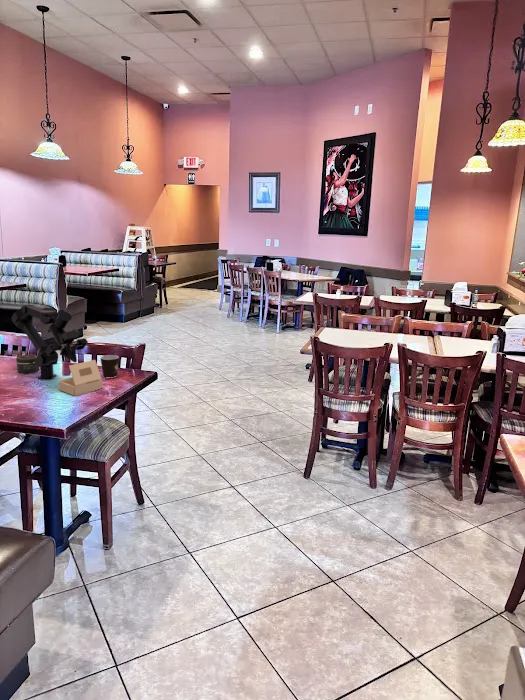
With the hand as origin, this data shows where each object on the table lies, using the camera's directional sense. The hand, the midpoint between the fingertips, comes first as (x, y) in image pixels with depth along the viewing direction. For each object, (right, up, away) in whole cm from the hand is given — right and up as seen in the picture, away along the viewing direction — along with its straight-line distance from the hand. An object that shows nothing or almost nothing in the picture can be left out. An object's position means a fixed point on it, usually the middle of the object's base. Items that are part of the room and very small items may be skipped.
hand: (75, 361), depth 225 cm
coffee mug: (+10, -8, +22) cm, 26 cm away
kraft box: (+2, -13, +1) cm, 13 cm away
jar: (-33, -6, +24) cm, 41 cm away
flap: (+7, -9, -3) cm, 12 cm away
